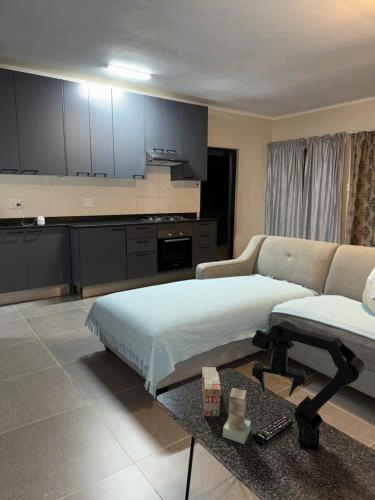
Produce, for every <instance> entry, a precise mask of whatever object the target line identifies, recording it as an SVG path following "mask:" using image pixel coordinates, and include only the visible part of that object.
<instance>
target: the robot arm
mask: <svg viewBox="0 0 375 500" xmlns="http://www.w3.org/2000/svg"><path fill="white" fill-rule="evenodd" d="M294 342H296V343H300V344H304V345H307V346H309V347H313V348H317V349H319V350H324V351H326V352H328V354H329V355H330V357H331V359H332V362H333V364H334V366H335V367H336V369H337V371H336V372H335V375H334V377H333V378H332V379H331V380H330V381H328V382H327V383H326V385H325V386H324V387H322V389H321V390H320V391H319V392H318V393H316V395H314V397H312V398H310V396H309V395H307V396H305V398H304V399H303V400H301V401H300V402H299V403H298V404H297V405H296V407H294V408H293V410H294V413H293V416H294V419H295V421H296V425H297V441H298V446H299V447H300V448H304V449H308V450H311V451H313V450H314V451H317V452H319V450H320V447H319V443H320V442H319V441H320V433H321V431H320V426H322V424H323V422H324V419H323V418H322V416H321V414H320V413H319V411H321V409H322V407H323V406H324V405H325V404H326V403H327V402H329V400H331V399H332V398H333V397H334V396H335V395H336V394H337V393H338V392H339V391H340V390H341V389H342V388H344V387H346V386H348V385H351V384H352V383H354V382H356V381H357V380H358V379H359V378H360V377H361V375H362V374H363V373H364V371H365V370H366V367H365V363H364V361H363V360H362V359H361V358H360V357H358V356H357V355H356V353H355V352H354V351H353V350H352V349H351V348H349V347H348V346H347V345H345V343H344V342H343V341H342V340H341V339H340V338H338V337H336V336H335V337H333V336H329V335H326V334H325V335H324V334H321V333H317V332H313V331H311V330H306V329H302V328H300V327H298V326H297V325H295V324H294V323H292V322H289V321H288V320H281V321H279V322H277V323H275V324H273V325H272V326H271V328H270V332H266V331H264V330H262V329H259V328H258V329H257V330H255V334H254V336H253V337H252V340H251V345H252V346H253V347H254V348H257V349H259V350H262V351H265V352H267V362H270V368H269V367H265V364H264V363H260V362H254V363H253V364H252V368H251V369H252V370H251V376H252V377H254V378H255V379H257V380H258V381H259V384H260V387H261V388H262V392H263V393H265V392H266V391H265V390H266V382H265V381H266V380H265V374H267V375H271V376H279V377H285V378H291V382H290V385H289V386H290V387H289V392H288V398H290V397H292V394H293V393H294V392H295V390H296V389H297V388H298V387H301V386H302V385H306V371H305V370H304V369H299V368H293V371H288V357H289V350H291V349H292V348H293V347H295V343H294ZM270 350H271V352H270Z"/></svg>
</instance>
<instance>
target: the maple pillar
mask: <svg viewBox="0 0 375 500" xmlns="http://www.w3.org/2000/svg"><path fill="white" fill-rule="evenodd" d="M228 400H229V402H228V403H229V404H228V405H229V406H228V407H229V408H228V411H229V413H228V418H229V428H231V429H235V430H239V431H243V428H244V424H245V420H246V409H247V408H246V404H247V403H246V402H247V390H245V389H239V388H235V387H232V388H231V391H230V394H229V399H228Z"/></svg>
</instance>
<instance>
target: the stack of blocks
mask: <svg viewBox="0 0 375 500" xmlns="http://www.w3.org/2000/svg"><path fill="white" fill-rule="evenodd" d="M201 375H202V376H201V391H202V392H201V393H202V403H203V404H202V405H203V416H204V417H220V412H221V408H220V407H221V395H222V392H221V391H222V389H221V382H220V376H219V373H218V371H217V368H216V366H213V367H212V366H209V367H208V366H204V367H203V366H202V367H201Z"/></svg>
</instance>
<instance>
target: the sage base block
mask: <svg viewBox="0 0 375 500" xmlns="http://www.w3.org/2000/svg"><path fill="white" fill-rule="evenodd" d="M251 423H252V422H251V420H249V419H245V424H244V428H243V431H239V430H235V429H231V428H229V417H228V418H227V420H226V421H225V424H224V425H223V427H222V437H223V438H224V439H228V440H231V441H234V442H236V443H240V444H243V445H245V443H246V441H247V439H248V436H249V434H250V433H251V428H252V427H251V426H252V425H251Z"/></svg>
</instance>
